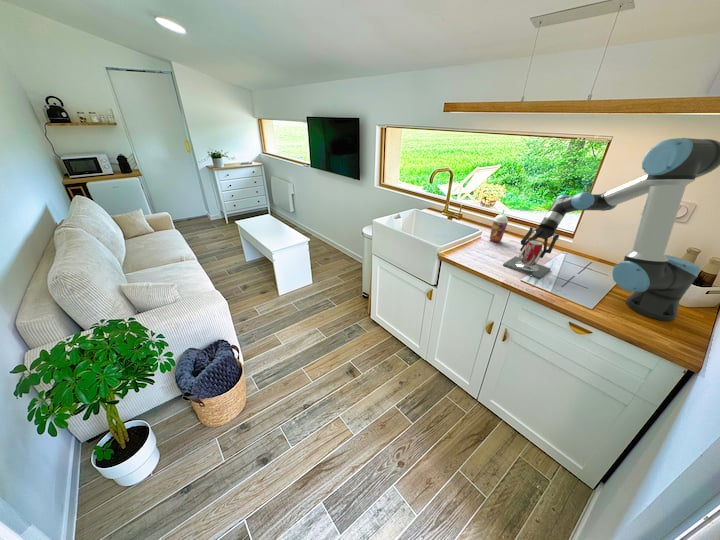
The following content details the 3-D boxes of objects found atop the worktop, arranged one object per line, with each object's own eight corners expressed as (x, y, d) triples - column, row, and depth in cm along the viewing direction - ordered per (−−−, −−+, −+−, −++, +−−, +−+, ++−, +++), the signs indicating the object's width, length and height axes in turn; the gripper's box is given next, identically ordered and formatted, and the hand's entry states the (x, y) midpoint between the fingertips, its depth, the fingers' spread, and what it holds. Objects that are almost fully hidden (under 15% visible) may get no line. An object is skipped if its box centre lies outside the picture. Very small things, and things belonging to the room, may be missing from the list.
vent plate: (550, 270, 144) (551, 268, 144) (539, 279, 136) (540, 277, 135) (515, 257, 156) (515, 256, 156) (502, 265, 147) (503, 263, 147)
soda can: (534, 268, 140) (542, 246, 135) (519, 263, 144) (526, 242, 138) (536, 263, 145) (544, 242, 140) (521, 259, 149) (529, 238, 143)
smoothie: (492, 237, 182) (500, 207, 173) (504, 241, 177) (513, 210, 167) (485, 240, 178) (493, 209, 168) (497, 244, 172) (507, 213, 163)
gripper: (572, 232, 139) (548, 270, 137) (530, 221, 152) (508, 256, 150) (573, 224, 133) (548, 263, 132) (529, 213, 146) (507, 249, 145)
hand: (527, 259), depth 141 cm, fingers closed on soda can, 7 cm apart
